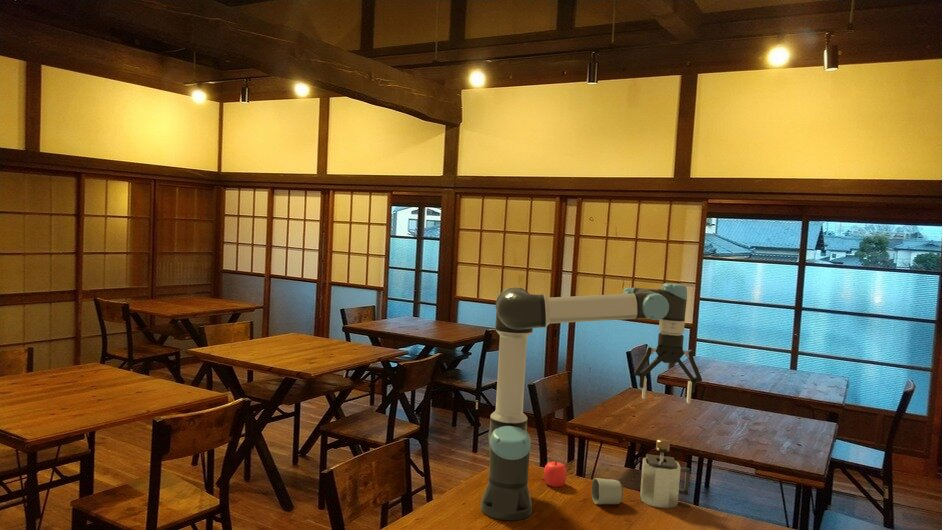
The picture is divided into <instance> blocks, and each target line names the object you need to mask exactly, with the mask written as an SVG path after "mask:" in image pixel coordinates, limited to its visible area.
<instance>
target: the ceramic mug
mask: <svg viewBox="0 0 943 530" xmlns="http://www.w3.org/2000/svg"><path fill="white" fill-rule="evenodd" d="M623 487H624V486H623V484H622V483H621V481H619V480H617V479H610V478H609V479H608V478H600V477H599V478H598V477H595V478H594V479H593V481H592V484H591V499H592V501H593V503H594V504H595V505H619V504H621V503H622V501H623V500H624V499H623V498H624V488H623Z"/></svg>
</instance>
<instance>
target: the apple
mask: <svg viewBox="0 0 943 530" xmlns="http://www.w3.org/2000/svg"><path fill="white" fill-rule="evenodd" d="M567 475H568V474H567V468H566V466H565V464H564V463H562V462H558V460H555V461H550V462H549V461H548V462H547V463H546V464H545V466H544V470H543V476H544V478H543V479H544V483H546V484H547V485H548V486H550V487H551V486H552V488H558V487H559V486H560V487H563V486H564V485H565V484H566V480H567Z"/></svg>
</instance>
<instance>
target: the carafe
mask: <svg viewBox="0 0 943 530" xmlns="http://www.w3.org/2000/svg"><path fill="white" fill-rule="evenodd" d="M659 467H663V468H659ZM681 473H685V474H684V487H683V488H680V479H681V478H680V477H681ZM690 473H691V469H690V468H689V467H686V466H685V467H682V466H681V464H680V462H679V461H677V460H675V457H673V456H665V455H664V458H663V462H660V455H655V454H646V457H642V464H641V476H640V477H641V480H640V490H639V491H640V493H639V495H640V500H641V502H642V503H644V504H645V505H647V506H649V507H653V508H656V509H657V508H658V509H663V510H664V509H665V510H666V509H668V510H669V509H673V508H675V507H676V506H678V503H679V494H681V495H689V485H690V475H691V474H690Z"/></svg>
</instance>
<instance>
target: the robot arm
mask: <svg viewBox="0 0 943 530" xmlns="http://www.w3.org/2000/svg"><path fill="white" fill-rule="evenodd" d="M687 301H688V288H687V286H686V285H684V284H681V283H670V282H668V283H667V282H665V283H663V284H662V286H661V288H659V289H655V288H654V289H653V288H643V287H640V288H639V287H636V286H635V287H626V288H624V289H623V292H622V293H616V294H615V293H614V294H597V295H596V294H595V295H577V296H576V295H575V296H573V295H572V296H556V297H555V296H554V297H548V296H547V295H545V294H544V293H543V294H532V293H529V291H527V290H526V289H524V288H522V287H509V288H506V289H504V290H503V291H501V293H499V294H498V296H497V297H496V300H495V310H496V312H495V331H496V333H497V334H498V335H499V343H498V344H499V345H498V361H497V362H498V365H497V380H496V382H497V383H496V395H495V396H496V399H495V410H494V411H493V412H492V413H491V414H490V418H489V420H490V421H489V430H488V434H487V435H488V436H487V437H488V438H487V439H488V444H489V445H488V446H489V465H488V466H489V467H488V468H489V469H488V481H487V484H486V487H485V490H484V492H483V495H482V497H481V502H480V509H481V512H482V513H484V514H485V515H486V516H488V517H490V518H492V519H496V520H501V521H521V520H524V519H527V518H529V517H530V516H531V515H532V514H533V513H532V512H533V503H532V498H531V494H530V490H529V486H528V481H529V467H530V453H531V452H530V451H531V448H532V447H531V446H532V445H531V443H532V442H531V437H530V434H529V433H528V430H527V429H528V428H527V427H528V416H527V415H526V414H525V413H524V399H525V396H524V395H525V382H526V381H525V379H526V367H527V365H526V363H527V349H528V348H527V346H528V337H529V336H530V335H532V334H533V330H534V329H538V328H546V327H548V326H549V325H550V324H562V323H563V324H564V323H565V324H566V323H581V322H583V323H584V322H599V321H601V322H603V321H617V320H618V321H619V320H642V319H643V320H644V319H648V320H652V321H659V323H658V324H659V326H658V331H659V333H658V335H657V346H656V347H652V346H650V345H648V346H647V347H646V351H645V354H643V357H642V358H641V359H640V362H639V363H638V364H637V367H636V368H635V369H634V375H635V376H638V377H639V381H638V382H639V385H638V386H639V387H640V388H641V389H642V390H641V398H642V400H646V392H647V381H648V379H647V377H646V376H647V375H648V374H649V373H651V371H653V369H655V367H656V366H658V365H659V364H661V362H662V363H664V364H671V365H672V364H673V365H675V364H676V363H677V364H678V365H679V367H680V368H681V369H682V370H683V371H684V373H685V374H686V376H687V377H688V379H689V380H688V381H687V391H686V401H685V402H686V403H687V404H689V405H690V404H691V400H692V394H694V393H695V392H696V384H697V383H698V382H702V381H703V378H702V375H701V373H700V371H699V368H698V366H697V363H696V362H695V358H694V352H693V350H692V349H689V350H684V349H683V348H684V340H685V339H684V335H683V334H685V323H686V322H685V321H686V320H685V319H686V310H687ZM654 353H655V354H656V355H657V356H656V357H655V358H654V360H652V361H651V362H650V363H649V364H648V365H647V366H646V368H644V366H645V365H646V363H647V362H648V360H649V358H650V356H651V355H653V354H654ZM684 355H685V357H686V358H687V359H688V361H689V364H690V366H691V367H692V368H691V369H692V370H693V373H694V376H693V375H692V373H691V372H690V370H689V369H688V368H687V366H686V365H685V364H684V362H683V361H682V360H681V358H682V357H683V356H684ZM643 368H644V369H643ZM642 369H643V370H642Z"/></svg>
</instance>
